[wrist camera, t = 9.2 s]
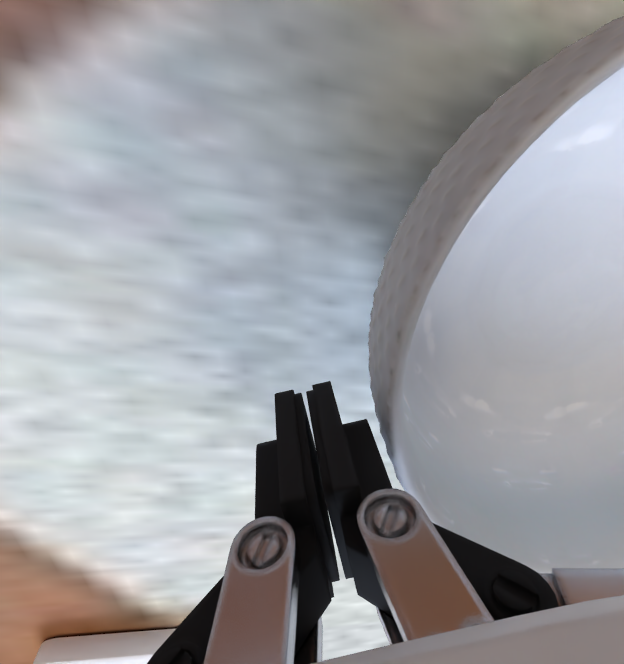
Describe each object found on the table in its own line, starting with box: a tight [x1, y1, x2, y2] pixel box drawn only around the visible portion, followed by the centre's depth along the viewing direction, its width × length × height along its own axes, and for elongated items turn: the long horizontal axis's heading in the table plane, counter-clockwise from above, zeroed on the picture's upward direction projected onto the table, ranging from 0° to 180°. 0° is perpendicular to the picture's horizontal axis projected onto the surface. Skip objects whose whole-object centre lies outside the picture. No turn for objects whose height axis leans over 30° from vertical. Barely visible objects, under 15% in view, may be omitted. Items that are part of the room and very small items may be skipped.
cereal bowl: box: [368, 16, 624, 573], centre depth 13 cm, size 17×17×7 cm
